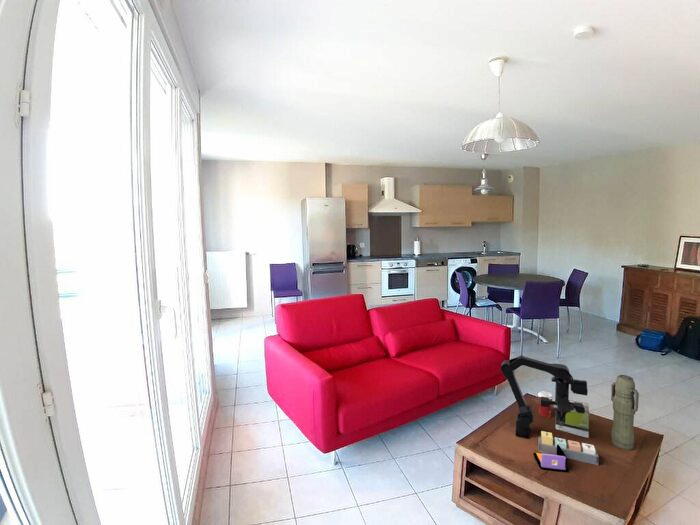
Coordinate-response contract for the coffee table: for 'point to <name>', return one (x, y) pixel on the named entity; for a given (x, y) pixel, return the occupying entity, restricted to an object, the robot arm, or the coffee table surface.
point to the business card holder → (552, 461)
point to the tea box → (575, 422)
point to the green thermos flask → (624, 411)
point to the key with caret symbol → (560, 442)
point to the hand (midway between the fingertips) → (561, 421)
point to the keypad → (569, 453)
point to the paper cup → (545, 410)
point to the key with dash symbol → (574, 446)
